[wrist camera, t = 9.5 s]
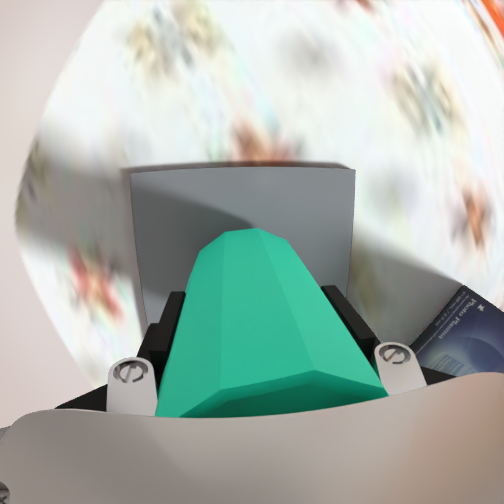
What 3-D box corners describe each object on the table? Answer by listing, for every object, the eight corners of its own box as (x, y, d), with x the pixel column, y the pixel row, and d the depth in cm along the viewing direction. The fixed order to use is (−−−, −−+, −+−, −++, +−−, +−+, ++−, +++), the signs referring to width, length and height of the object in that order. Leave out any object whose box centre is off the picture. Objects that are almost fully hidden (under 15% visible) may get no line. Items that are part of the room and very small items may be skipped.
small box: (461, 278, 19) (556, 344, 9) (484, 317, 20) (557, 378, 10) (371, 378, 21) (429, 479, 11) (407, 401, 22) (457, 482, 12)
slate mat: (133, 172, 15) (129, 173, 14) (351, 169, 16) (355, 169, 15) (158, 359, 18) (156, 364, 18) (334, 350, 19) (337, 356, 19)
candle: (166, 294, 15) (91, 519, 4) (237, 201, 14) (280, 398, 2) (256, 352, 16) (290, 559, 5) (328, 274, 15) (469, 463, 4)
